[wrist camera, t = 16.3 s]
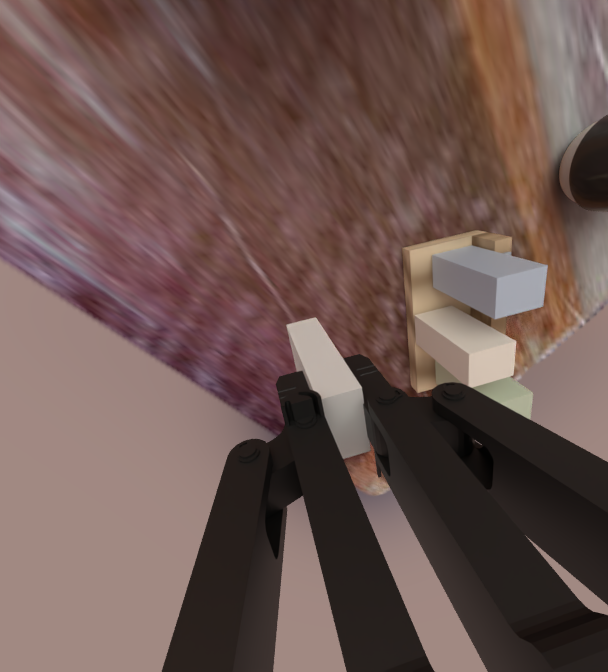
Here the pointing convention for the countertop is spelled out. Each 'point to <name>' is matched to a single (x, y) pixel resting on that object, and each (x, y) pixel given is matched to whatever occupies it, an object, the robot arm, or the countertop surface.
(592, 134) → the pump dispenser
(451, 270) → the slate key
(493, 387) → the pale green tall block
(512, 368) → the cream rectangular block
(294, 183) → the countertop surface
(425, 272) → the wooden key holder base
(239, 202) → the countertop surface
